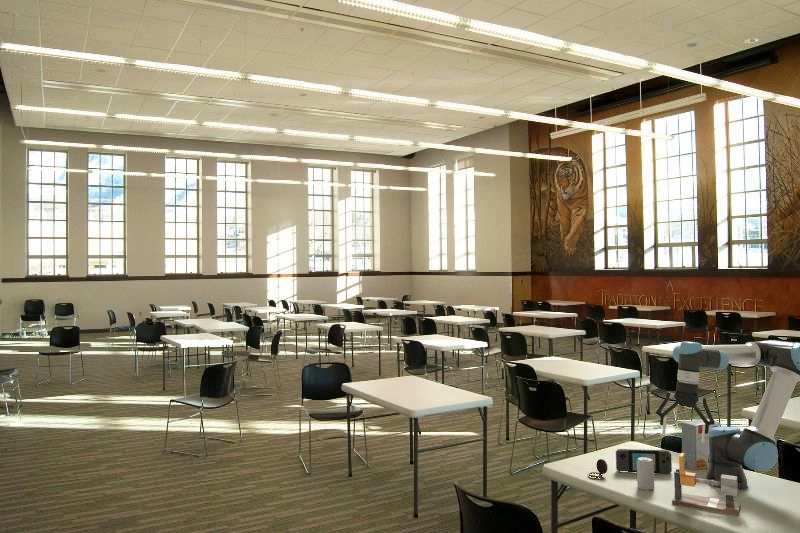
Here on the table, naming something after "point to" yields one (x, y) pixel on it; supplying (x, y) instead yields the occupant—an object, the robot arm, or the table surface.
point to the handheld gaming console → (629, 457)
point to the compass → (600, 468)
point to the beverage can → (645, 473)
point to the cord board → (709, 504)
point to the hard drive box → (696, 444)
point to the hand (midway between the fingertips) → (682, 438)
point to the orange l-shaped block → (685, 473)
